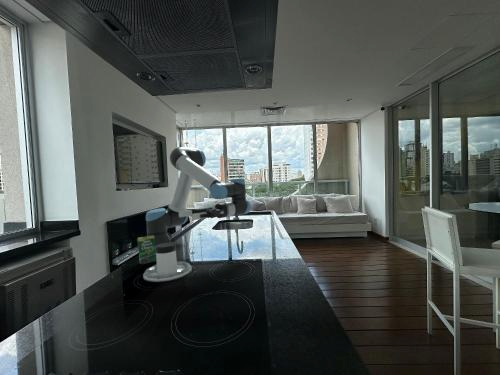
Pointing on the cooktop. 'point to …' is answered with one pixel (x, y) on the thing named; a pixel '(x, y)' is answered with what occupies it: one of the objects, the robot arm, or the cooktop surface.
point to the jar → (166, 258)
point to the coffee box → (146, 249)
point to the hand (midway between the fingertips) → (185, 215)
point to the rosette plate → (182, 270)
